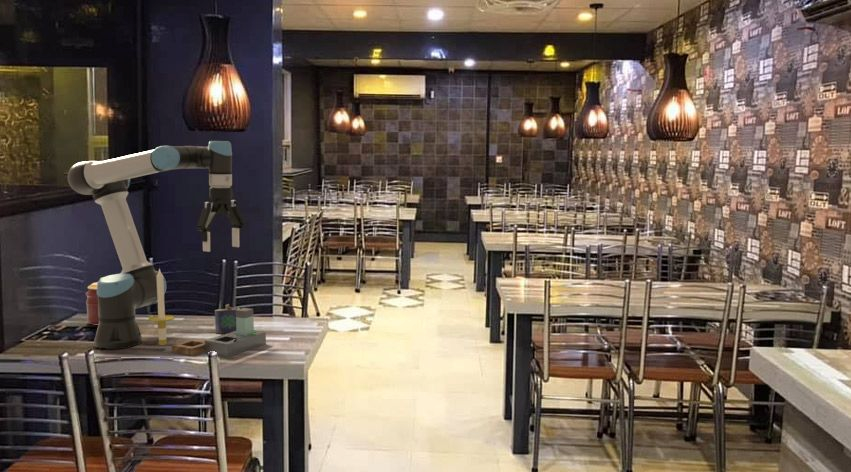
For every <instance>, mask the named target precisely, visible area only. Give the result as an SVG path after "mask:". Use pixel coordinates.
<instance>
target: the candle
mask: <svg viewBox="0 0 851 472" xmlns="http://www.w3.org/2000/svg"><path fill="white" fill-rule="evenodd" d="M163 276H164V275H163V274H162V272H161V269H160V267H159V269H158V274H157V275H156V277H157V300H158V302H157V315H153V316H151V317H148V321H149V322H153V323H157V331H158V332H157V333H158V334H157V335H158V336H157V337H158V345H159V346H165V345H167V323H166V322H169V321H172V320H174V319H175V318H176V317H175V316H174V315H171V314H166V312H165V311H166V309H165V307H166V306H165V294H164V284H163Z"/></svg>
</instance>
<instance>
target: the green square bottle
mask: <svg viewBox="0 0 851 472" xmlns="http://www.w3.org/2000/svg"><path fill="white" fill-rule="evenodd" d="M254 326H255V323H254V308H250V307H249V308H247V307H242V308H240V309H238V310H236V333H237V335H243V336H247V335H250V334H252V333H254V330H255V327H254Z"/></svg>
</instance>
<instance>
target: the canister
mask: <svg viewBox="0 0 851 472" xmlns="http://www.w3.org/2000/svg"><path fill="white" fill-rule="evenodd" d="M103 277H104V276H103ZM103 277H100V278H99V280H100V279H101V278H103ZM97 283H98V281H97V282H93V283H91V284H89V285H88V286H87V289H88V291H86V292H85V295H86V297H87V298H86V301H85V303H86V315H87V316H86V321H87V324H88V323H90V324H99V316H98V300H97Z"/></svg>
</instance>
